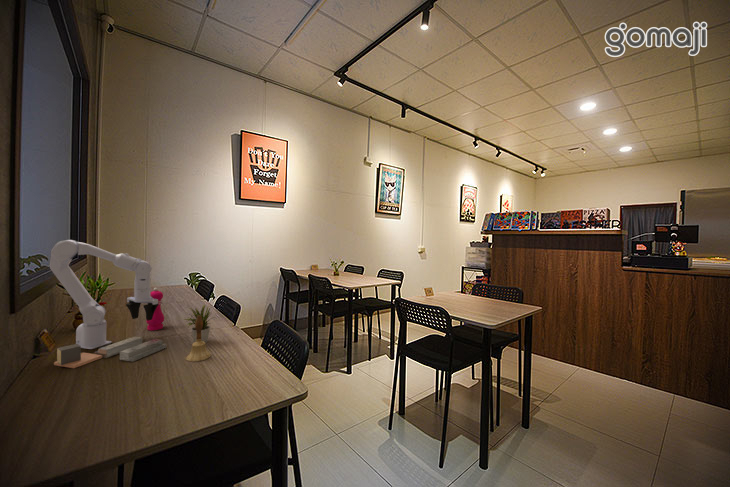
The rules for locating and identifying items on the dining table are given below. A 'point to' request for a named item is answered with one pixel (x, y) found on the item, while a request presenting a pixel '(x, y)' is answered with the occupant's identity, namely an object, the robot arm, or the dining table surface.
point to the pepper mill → (156, 312)
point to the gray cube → (68, 354)
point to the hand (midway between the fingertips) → (142, 319)
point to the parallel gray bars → (131, 349)
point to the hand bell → (198, 344)
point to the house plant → (205, 328)
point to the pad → (84, 360)
